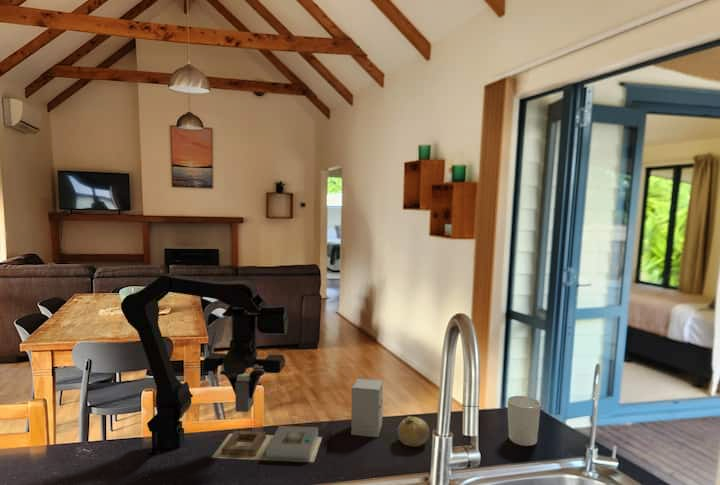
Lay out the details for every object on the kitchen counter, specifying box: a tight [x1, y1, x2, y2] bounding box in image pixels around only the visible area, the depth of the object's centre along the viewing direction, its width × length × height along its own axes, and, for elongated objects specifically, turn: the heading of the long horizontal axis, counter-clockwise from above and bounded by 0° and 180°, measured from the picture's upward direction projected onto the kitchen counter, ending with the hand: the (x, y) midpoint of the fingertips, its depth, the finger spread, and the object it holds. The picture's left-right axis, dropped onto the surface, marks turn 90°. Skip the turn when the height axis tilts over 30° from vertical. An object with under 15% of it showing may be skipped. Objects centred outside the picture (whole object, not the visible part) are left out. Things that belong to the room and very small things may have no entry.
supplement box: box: [350, 378, 383, 438], centre depth 124 cm, size 7×7×13 cm
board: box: [210, 433, 323, 463], centre depth 113 cm, size 24×12×1 cm, turn 86°
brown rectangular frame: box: [222, 430, 267, 456], centre depth 114 cm, size 8×9×2 cm
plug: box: [234, 373, 255, 413], centre depth 113 cm, size 3×4×8 cm, turn 176°
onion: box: [397, 415, 430, 448], centre depth 118 cm, size 8×8×7 cm
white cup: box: [507, 395, 541, 447], centre depth 119 cm, size 8×8×10 cm
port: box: [265, 425, 319, 463], centre depth 113 cm, size 10×12×3 cm
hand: (244, 397), depth 113 cm, fingers closed on plug, 3 cm apart
